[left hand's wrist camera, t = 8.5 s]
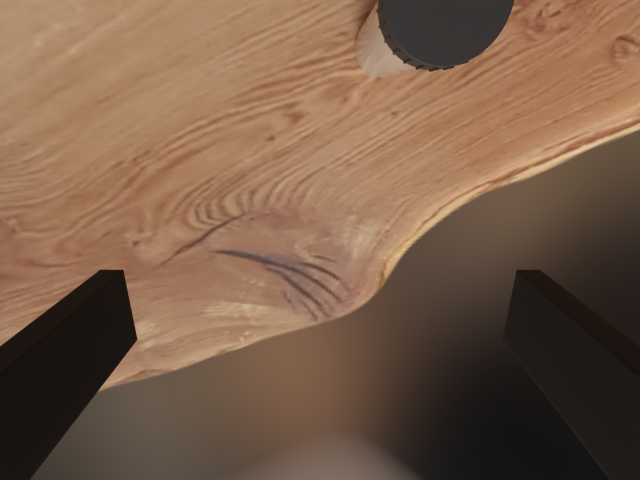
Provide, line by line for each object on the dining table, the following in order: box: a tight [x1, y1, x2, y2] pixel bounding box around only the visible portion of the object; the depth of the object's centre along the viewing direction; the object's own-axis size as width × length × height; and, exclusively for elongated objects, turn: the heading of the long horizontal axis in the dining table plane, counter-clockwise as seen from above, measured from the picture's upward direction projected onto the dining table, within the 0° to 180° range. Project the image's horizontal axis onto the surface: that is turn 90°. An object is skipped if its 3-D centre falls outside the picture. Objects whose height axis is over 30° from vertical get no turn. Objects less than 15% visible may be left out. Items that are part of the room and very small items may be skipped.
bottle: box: [355, 1, 416, 78], centre depth 24 cm, size 5×5×16 cm
